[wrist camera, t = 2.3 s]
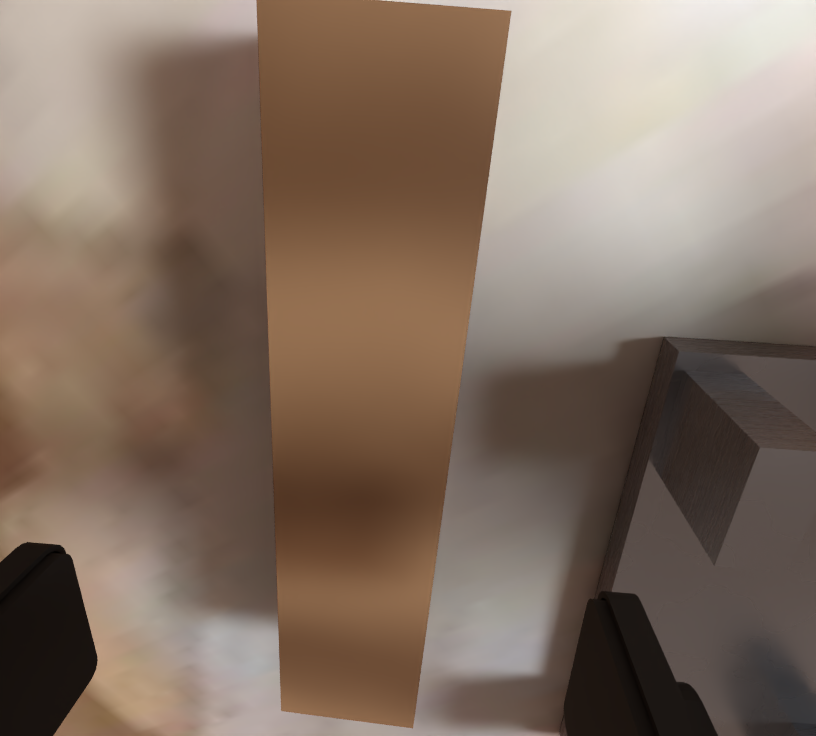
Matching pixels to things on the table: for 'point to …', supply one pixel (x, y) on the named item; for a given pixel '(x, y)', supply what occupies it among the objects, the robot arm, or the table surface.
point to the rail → (367, 323)
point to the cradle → (727, 529)
